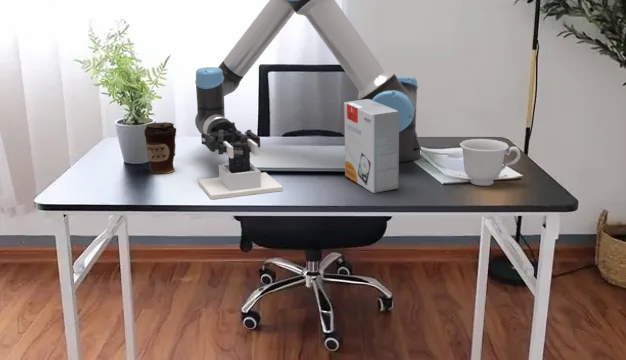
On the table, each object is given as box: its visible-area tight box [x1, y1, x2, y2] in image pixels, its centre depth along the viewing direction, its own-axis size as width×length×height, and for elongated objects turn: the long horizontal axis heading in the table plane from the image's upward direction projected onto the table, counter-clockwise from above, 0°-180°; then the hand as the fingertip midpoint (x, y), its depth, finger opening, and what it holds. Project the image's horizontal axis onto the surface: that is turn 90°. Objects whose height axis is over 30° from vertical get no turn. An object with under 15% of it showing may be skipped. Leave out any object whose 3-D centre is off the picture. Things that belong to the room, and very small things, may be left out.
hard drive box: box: [343, 99, 400, 194], centre depth 184 cm, size 16×8×20 cm, turn 25°
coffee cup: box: [143, 121, 177, 174], centre depth 197 cm, size 9×8×13 cm
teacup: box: [459, 138, 521, 187], centre depth 185 cm, size 12×15×10 cm
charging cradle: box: [197, 162, 284, 200], centre depth 184 cm, size 18×14×5 cm
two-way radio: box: [227, 121, 251, 173], centre depth 182 cm, size 6×4×15 cm
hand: (244, 151), depth 177 cm, fingers open, 5 cm apart
